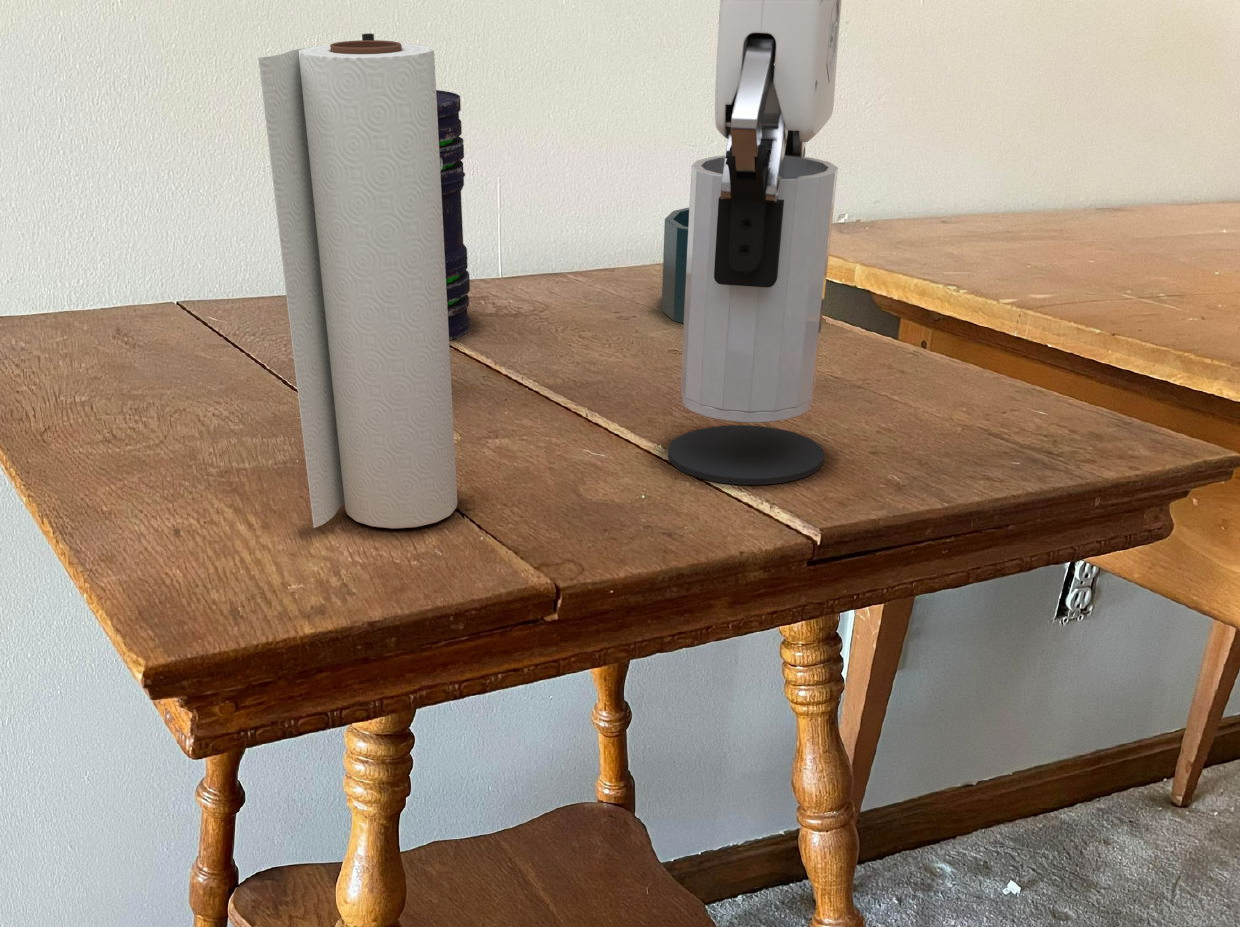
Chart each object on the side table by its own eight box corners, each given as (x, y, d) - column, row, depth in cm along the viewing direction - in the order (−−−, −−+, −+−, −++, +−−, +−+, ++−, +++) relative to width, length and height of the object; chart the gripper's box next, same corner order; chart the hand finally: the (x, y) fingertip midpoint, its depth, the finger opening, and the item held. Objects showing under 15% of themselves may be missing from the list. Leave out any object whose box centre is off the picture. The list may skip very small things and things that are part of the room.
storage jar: (374, 305, 108) (356, 85, 99) (491, 316, 105) (484, 91, 96) (315, 339, 100) (289, 104, 91) (439, 352, 98) (425, 111, 89)
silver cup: (819, 388, 81) (844, 157, 73) (802, 428, 75) (827, 182, 68) (694, 377, 82) (707, 150, 75) (668, 416, 76) (679, 174, 69)
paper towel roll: (463, 490, 76) (441, 36, 63) (451, 533, 72) (425, 51, 59) (333, 489, 77) (285, 36, 64) (313, 531, 72) (257, 51, 59)
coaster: (831, 438, 83) (832, 432, 83) (812, 492, 76) (813, 485, 76) (684, 426, 85) (685, 419, 85) (652, 477, 78) (653, 470, 78)
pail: (818, 297, 109) (827, 207, 105) (799, 335, 101) (808, 238, 97) (679, 288, 112) (683, 200, 108) (649, 324, 103) (652, 230, 99)
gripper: (852, -147, 56) (806, 312, 67) (888, -146, 69) (845, 236, 80) (671, -147, 58) (654, 301, 68) (740, -146, 71) (717, 229, 82)
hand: (757, 264), depth 74 cm, fingers closed on silver cup, 7 cm apart
